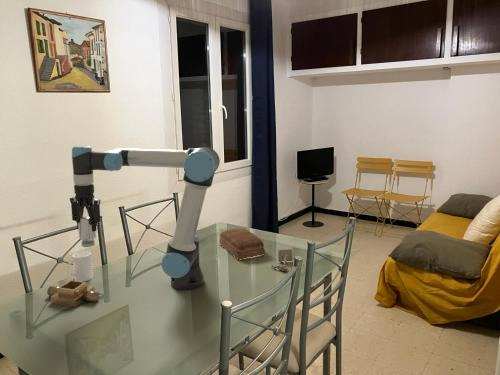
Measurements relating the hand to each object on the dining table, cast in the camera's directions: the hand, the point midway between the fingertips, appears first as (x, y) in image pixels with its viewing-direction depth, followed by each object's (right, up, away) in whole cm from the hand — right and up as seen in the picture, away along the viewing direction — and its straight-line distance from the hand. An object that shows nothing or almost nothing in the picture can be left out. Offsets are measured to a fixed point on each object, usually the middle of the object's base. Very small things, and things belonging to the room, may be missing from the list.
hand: (87, 237), depth 163 cm
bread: (+64, -15, +56) cm, 86 cm away
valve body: (-6, -26, +1) cm, 27 cm away
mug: (-12, -23, +20) cm, 32 cm away
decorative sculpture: (+85, -20, +33) cm, 93 cm away
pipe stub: (0, -3, +1) cm, 3 cm away
